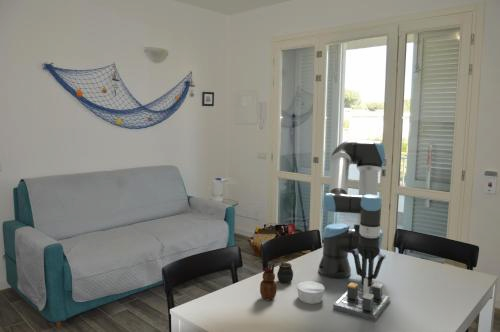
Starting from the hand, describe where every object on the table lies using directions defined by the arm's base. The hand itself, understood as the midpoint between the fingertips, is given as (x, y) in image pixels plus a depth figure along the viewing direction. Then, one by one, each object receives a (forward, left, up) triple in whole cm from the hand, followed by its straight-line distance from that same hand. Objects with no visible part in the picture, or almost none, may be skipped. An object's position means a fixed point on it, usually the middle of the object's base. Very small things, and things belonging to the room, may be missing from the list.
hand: (366, 293), depth 154 cm
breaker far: (+3, +6, -3) cm, 7 cm away
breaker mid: (-5, 0, -3) cm, 6 cm away
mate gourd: (-37, +2, -5) cm, 38 cm away
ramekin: (-20, -7, -5) cm, 22 cm away
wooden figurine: (-34, -17, -5) cm, 39 cm away
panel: (-1, 0, -5) cm, 5 cm away
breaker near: (+3, -6, -3) cm, 7 cm away
